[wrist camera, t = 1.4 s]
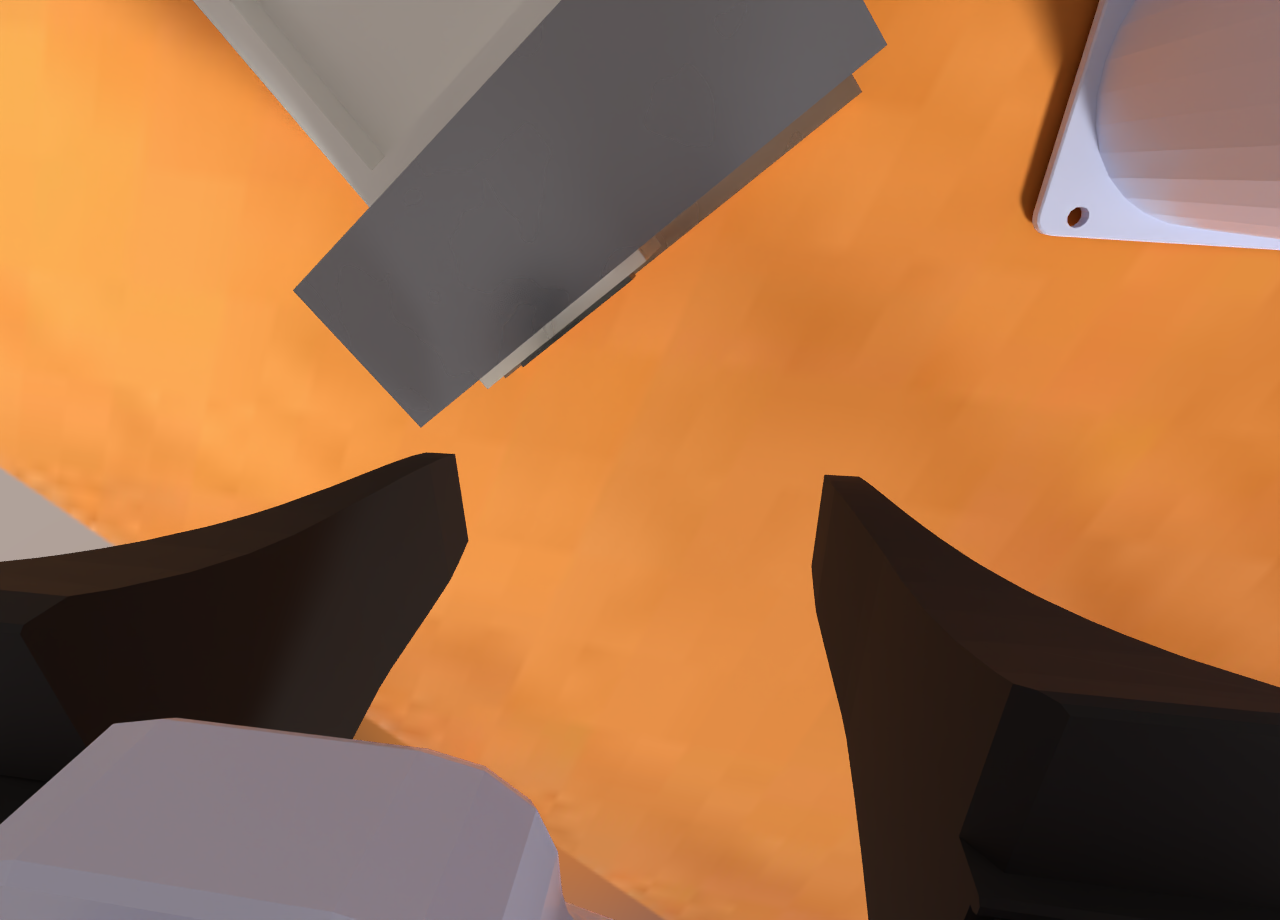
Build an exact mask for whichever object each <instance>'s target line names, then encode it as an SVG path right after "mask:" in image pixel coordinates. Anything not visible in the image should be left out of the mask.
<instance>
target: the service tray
mask: <svg viewBox="0 0 1280 920" xmlns="http://www.w3.org/2000/svg"><path fill="white" fill-rule="evenodd" d="M193 1H194V2H195V3H196V5H197V6H198V7H199V8H200V9H201V10H202V12H203V13H204V14H205V15H206V16H207V18H208V19H209V20H210V21H211V22H212V23H213V25H214V26H215V27H216V28H217V29H218V30H219V32H220V33H221V34H222V35H223V36H224V37H225V39H226V40H227V41H228V42H229V43H230V44H231V46H232V47H233V48H234V49H235V50H236V51H237V53H238V54H239V55H240V56H241V57H242V59H243V60H244V61H245V62H246V63H247V64H248V66H249V67H250V68H251V69H252V70H253V71H254V73H255V74H256V75H257V76H258V77H259V78H260V80H261V81H262V82H263V83H264V84H265V85H266V87H267V88H268V89H269V90H270V91H271V93H272V94H273V95H274V96H275V97H276V98H277V100H278V101H279V102H280V103H281V104H282V105H283V107H284V108H285V109H286V110H287V111H288V112H289V114H290V115H291V116H292V117H293V118H294V119H295V121H296V122H297V123H298V124H299V125H300V126H301V128H302V129H303V130H304V131H305V132H306V134H307V135H308V136H309V137H310V138H311V139H312V141H313V142H314V143H315V144H316V145H317V146H318V148H319V149H320V150H321V151H322V152H323V153H324V155H325V156H326V157H327V158H328V159H329V160H330V162H331V163H332V164H333V165H334V166H335V168H336V169H337V170H338V171H339V172H340V173H341V175H342V176H343V177H344V178H345V179H346V180H347V182H348V183H349V184H350V185H351V186H352V187H353V189H354V190H355V191H356V192H357V193H358V194H359V196H360V197H361V198H362V199H363V200H364V201H365V203H366V204H367V205H368V206H369V207H371V205H372V204H373V203H374V202H375V201H376V200H377V199H378V198H379V197H380V196H381V195H382V194H383V193H384V191H385V190H386V189H387V188H388V187H389V186H390V185H391V184H392V183H393V182H394V181H395V180H396V178H397V177H398V176H399V175H400V174H401V173H402V172H403V171H404V170H405V169H406V168H407V167H408V165H409V164H410V163H411V162H412V161H413V160H414V159H415V158H416V157H417V156H418V155H419V154H420V152H421V151H422V150H423V149H424V148H425V147H426V146H427V145H428V144H429V143H430V142H431V141H432V139H433V138H434V137H435V136H436V135H437V134H438V133H439V132H440V131H441V130H442V129H443V128H444V126H445V125H446V124H447V123H448V122H449V121H450V120H451V119H452V118H453V117H454V116H455V115H456V113H457V112H458V111H459V110H460V109H461V108H462V107H463V106H464V105H465V104H466V103H467V102H468V100H469V99H470V98H471V97H472V96H473V95H474V94H475V93H476V92H477V91H478V90H479V89H480V88H481V86H482V85H483V84H484V83H485V82H486V81H487V80H488V79H489V78H490V77H491V76H492V75H493V73H494V72H495V71H496V70H497V69H498V68H499V67H500V66H501V65H502V64H503V63H504V62H505V60H506V59H507V58H508V57H509V56H510V55H511V54H512V53H513V52H514V51H515V50H516V49H517V47H518V46H519V45H520V44H521V43H522V42H523V41H524V40H525V39H526V38H527V37H528V36H529V34H530V33H531V32H532V31H533V30H534V29H535V28H536V27H537V26H538V25H539V24H540V23H541V21H542V20H543V19H544V18H545V17H546V16H547V15H548V14H549V13H550V12H551V11H552V10H553V8H554V7H555V6H556V5H557V4H558V3H559V2H560V1H561V0H193Z"/></svg>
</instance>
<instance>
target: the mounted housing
mask: <svg viewBox="0 0 1280 920" xmlns="http://www.w3.org/2000/svg"><path fill="white" fill-rule="evenodd" d="M886 45H887V44H886V42H885V40H884V38H883V36H882V34H881V33H880V31H879V29H878V27H877V25H876V23H875V22H874V20H873V18H872V16H871V14H870V12H869V11H868V9H867V7H866V5H865V3H864V1H863V0H561V1H560V2H559V3H558V4H557V5H556V6H555V7H554V8H553V10H552V11H551V12H550V13H549V14H548V15H547V16H546V17H545V18H544V19H543V20H542V21H541V23H540V24H539V25H538V26H537V27H536V28H535V29H534V30H533V31H532V32H531V33H530V34H529V36H528V37H527V38H526V39H525V40H524V41H523V42H522V43H521V44H520V45H519V46H518V47H517V49H516V50H515V51H514V52H513V53H512V54H511V55H510V56H509V57H508V58H507V59H506V60H505V62H504V63H503V64H502V65H501V66H500V67H499V68H498V69H497V70H496V71H495V72H494V73H493V75H492V76H491V77H490V78H489V79H488V80H487V81H486V82H485V83H484V84H483V85H482V86H481V88H480V89H479V90H478V91H477V92H476V93H475V94H474V95H473V96H472V97H471V98H470V99H469V100H468V102H467V103H466V104H465V105H464V106H463V107H462V108H461V109H460V110H459V111H458V112H457V113H456V115H455V116H454V117H453V118H452V119H451V120H450V121H449V122H448V123H447V124H446V125H445V126H444V128H443V129H442V130H441V131H440V132H439V133H438V134H437V135H436V136H435V137H434V138H433V139H432V141H431V142H430V143H429V144H428V145H427V146H426V147H425V148H424V149H423V150H422V151H421V152H420V154H419V155H418V156H417V157H416V158H415V159H414V160H413V161H412V162H411V163H410V164H409V165H408V167H407V168H406V169H405V170H404V171H403V172H402V173H401V174H400V175H399V176H398V177H397V178H396V180H395V181H394V182H393V183H392V184H391V185H390V186H389V187H388V188H387V189H386V190H385V191H384V193H383V194H382V195H381V196H380V197H379V198H378V199H377V200H376V201H375V202H374V203H373V204H372V205H371V207H370V208H369V209H368V210H367V211H366V212H365V213H364V214H363V215H362V216H361V217H360V218H359V220H358V221H357V222H356V223H355V224H354V225H353V226H352V227H351V228H350V229H349V230H348V231H347V233H346V234H345V235H344V236H343V237H342V238H341V239H340V240H339V241H338V242H337V243H336V244H335V246H334V247H333V248H332V249H331V250H330V251H329V252H328V253H327V254H326V255H325V256H324V257H323V259H322V260H321V261H320V262H319V263H318V264H317V265H316V266H315V267H314V268H313V269H312V270H311V272H310V273H309V274H308V275H307V276H306V277H305V278H304V279H303V280H302V281H301V282H300V283H299V285H298V286H297V287H296V288H295V289H294V290H293V291H294V292H295V293H296V294H297V295H298V296H299V297H300V298H301V300H302V301H303V302H304V303H305V304H306V305H307V306H308V307H309V308H310V309H311V310H312V311H313V312H314V313H315V315H316V316H317V317H318V318H319V319H320V320H321V321H322V322H323V323H324V324H325V325H326V326H327V327H328V328H329V330H330V331H331V332H332V333H333V334H334V335H335V336H336V337H337V338H338V339H339V340H340V341H341V342H342V344H343V345H344V346H345V347H346V348H347V349H348V350H349V351H350V352H351V353H352V354H353V355H354V356H355V357H356V359H357V360H358V361H359V362H360V363H361V364H362V365H363V366H364V367H365V368H366V369H367V370H368V371H369V372H370V374H371V375H372V376H373V377H374V378H375V379H376V380H377V381H378V382H379V383H380V384H381V385H382V386H383V388H384V389H385V390H386V391H387V392H388V393H389V394H390V395H391V396H392V397H393V398H394V399H395V400H396V401H397V403H398V404H399V405H400V406H401V407H402V408H403V409H404V410H405V411H406V412H407V413H408V414H409V415H410V416H411V418H412V419H413V420H414V421H415V422H416V423H417V424H418V425H419V426H420V427H422V426H423V425H425V424H426V423H427V422H428V421H429V420H431V419H432V418H433V417H434V416H436V415H437V414H438V413H439V412H440V411H442V410H443V409H444V408H445V407H446V406H448V405H449V404H450V403H451V402H453V401H454V400H455V399H456V398H457V397H459V396H460V395H461V394H462V393H464V392H465V391H466V390H467V389H468V388H470V387H471V386H472V385H473V384H474V383H476V382H477V381H478V380H480V381H481V382H482V383H483V384H484V386H485V387H486V388H487V389H488V388H490V387H491V386H492V385H493V384H495V383H496V382H497V381H498V380H499V379H501V378H502V377H503V376H504V377H505V378H506V377H508V376H509V375H510V374H511V373H512V372H514V371H515V370H516V369H517V368H519V367H520V366H521V365H522V366H523V367H524V366H525V365H526V364H528V363H529V362H530V361H531V360H533V359H534V358H535V357H536V356H538V355H539V354H540V353H541V352H543V351H544V350H545V349H546V348H548V347H549V346H550V345H551V344H553V343H554V342H555V341H556V340H558V339H559V338H560V337H561V336H563V335H564V334H565V333H566V332H568V331H569V330H570V329H571V328H573V327H574V326H575V325H576V324H578V323H579V322H580V321H581V320H583V319H584V318H585V317H586V316H588V315H589V314H590V313H591V312H593V311H594V310H595V309H596V308H598V307H599V306H600V305H601V304H603V303H604V302H605V301H606V300H608V299H609V298H610V297H611V296H613V295H614V294H615V293H616V292H618V291H619V290H620V289H621V288H623V287H624V286H625V285H626V284H628V283H629V282H630V281H631V280H632V279H633V278H634V277H635V274H636V273H637V272H638V271H639V270H641V269H642V268H643V267H644V266H646V265H647V264H648V263H649V262H651V261H652V260H653V259H654V258H656V257H657V256H658V255H659V254H661V253H662V252H663V251H664V250H666V249H667V248H668V247H669V246H671V245H672V244H673V243H674V242H676V241H677V240H678V239H679V238H681V237H682V236H683V235H684V234H686V233H687V232H688V231H689V230H690V229H692V228H693V227H694V226H695V225H697V224H698V223H699V222H700V221H702V220H703V219H704V218H705V217H707V216H708V215H709V214H710V213H712V212H713V211H714V210H715V209H717V208H718V207H719V206H720V205H722V204H723V203H724V202H725V201H727V200H728V199H729V198H730V197H732V196H733V195H734V194H735V193H737V192H738V191H739V190H740V189H742V188H743V187H744V186H745V185H747V184H748V183H749V182H750V181H751V180H753V179H754V178H755V177H756V176H758V175H759V174H760V173H761V172H763V171H764V170H765V169H766V168H768V167H769V166H770V165H771V164H773V163H774V162H775V161H776V160H778V159H779V158H780V157H781V156H783V155H784V154H785V153H786V152H788V151H789V150H790V149H791V148H793V147H794V146H795V145H796V144H798V143H799V142H800V141H801V140H803V139H804V138H805V137H806V136H808V135H809V134H810V133H811V132H812V131H814V130H815V129H816V128H817V127H819V126H820V125H821V124H822V123H824V122H825V121H826V120H827V119H829V118H830V117H831V116H832V115H834V114H835V113H836V112H837V111H839V110H840V109H841V108H842V107H844V106H845V105H846V104H847V103H849V102H850V101H851V100H852V99H854V98H855V97H856V96H857V95H859V94H860V93H861V92H862V91H861V89H860V88H859V86H858V84H857V82H856V80H855V79H854V77H853V75H852V73H853V72H855V71H856V70H857V69H858V68H859V67H861V66H862V65H863V64H864V63H865V62H867V61H868V60H869V59H870V58H872V57H873V56H874V55H875V54H876V53H878V52H879V51H880V50H881V49H883V48H884V47H885V46H886Z"/></svg>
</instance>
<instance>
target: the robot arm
mask: <svg viewBox="0 0 1280 920" xmlns="http://www.w3.org/2000/svg"><path fill="white" fill-rule="evenodd" d="M1076 207H1079V208H1080V210H1081V211H1082V214H1081V218H1080V220H1079V221H1078V222H1077V223H1076V224H1075V225H1073V226H1069V224H1068V223H1067V217H1068V215H1069V213H1070V212H1071V211H1072V210H1073V209H1075V208H1076ZM1032 223H1033V226H1034V228H1035V229H1036V230H1037V231H1038V232H1039V233H1042V234H1045V235H1050V236H1064V237H1080V238H1096V239H1112V240H1128V241H1144V242H1161V243H1177V244H1193V245H1209V246H1225V247H1241V248H1257V249H1273V250H1280V0H1100V1H1099V4H1098V7H1097V11H1096V14H1095V17H1094V20H1093V23H1092V27H1091V30H1090V33H1089V36H1088V39H1087V43H1086V46H1085V49H1084V52H1083V55H1082V59H1081V62H1080V65H1079V68H1078V71H1077V75H1076V78H1075V81H1074V84H1073V87H1072V91H1071V94H1070V97H1069V100H1068V103H1067V107H1066V110H1065V113H1064V116H1063V119H1062V123H1061V126H1060V129H1059V132H1058V135H1057V139H1056V142H1055V145H1054V148H1053V152H1052V155H1051V158H1050V161H1049V164H1048V168H1047V171H1046V174H1045V177H1044V180H1043V184H1042V187H1041V190H1040V193H1039V196H1038V200H1037V203H1036V206H1035V209H1034V212H1033V218H1032ZM467 543H468V535H467V528H466V522H465V516H464V509H463V503H462V496H461V490H460V483H459V477H458V470H457V464H456V458H455V454H443V453H422V454H418V455H414V456H411V457H408V458H405V459H402V460H399V461H396V462H393V463H391V464H388V465H385V466H383V467H380V468H378V469H375V470H372V471H370V472H367V473H365V474H362V475H360V476H357V477H355V478H352V479H350V480H347V481H345V482H342V483H340V484H337V485H334V486H332V487H329V488H326V489H324V490H321V491H318V492H315V493H313V494H310V495H307V496H304V497H302V498H299V499H296V500H293V501H291V502H288V503H285V504H282V505H279V506H276V507H273V508H270V509H267V510H264V511H261V512H258V513H254V514H251V515H248V516H244V517H241V518H237V519H234V520H230V521H227V522H223V523H219V524H216V525H212V526H208V527H204V528H199V529H195V530H190V531H186V532H181V533H177V534H172V535H168V536H163V537H159V538H155V539H150V540H146V541H141V542H135V543H130V544H124V545H119V546H113V547H107V548H102V549H95V550H89V551H83V552H76V553H69V554H63V555H55V556H48V557H41V558H32V559H23V560H13V561H4V562H0V920H614V919H612V918H609V917H606V916H603V915H601V914H598V913H595V912H592V911H589V910H587V909H584V908H581V907H579V906H576V905H573V904H570V903H567V902H565V901H564V898H563V895H562V886H561V878H560V868H559V859H558V851H557V849H556V847H555V845H554V843H553V841H552V839H551V837H550V835H549V833H548V831H547V829H546V827H545V825H544V823H543V821H542V819H541V817H540V815H539V813H538V811H537V809H536V808H535V806H534V805H533V803H532V802H531V800H530V799H528V798H527V797H526V796H524V795H523V794H522V793H520V792H519V791H518V790H516V789H515V788H514V787H512V786H511V785H510V784H508V783H507V782H506V781H504V780H503V779H502V778H500V777H499V776H498V775H496V774H495V773H494V772H492V771H491V770H490V769H488V768H487V767H485V766H482V765H479V764H476V763H473V762H469V761H466V760H463V759H460V758H456V757H453V756H450V755H447V754H443V753H440V752H437V751H433V750H430V749H426V748H418V747H409V746H401V745H393V744H385V743H377V742H369V741H361V740H353V737H354V735H355V733H356V731H357V729H358V728H359V725H360V724H361V722H362V720H363V718H364V716H365V714H366V712H367V710H368V709H369V707H370V705H371V703H372V701H373V699H374V697H375V695H376V693H377V691H378V690H379V688H380V686H381V684H382V683H383V681H384V680H385V678H386V676H387V675H388V673H389V671H390V670H391V668H392V667H393V665H394V664H395V662H396V661H397V659H398V658H399V656H400V655H401V653H402V652H403V650H404V649H405V647H406V646H407V644H408V643H409V641H410V640H411V638H412V637H413V635H414V634H415V632H416V631H417V630H418V628H419V627H420V625H421V624H422V622H423V621H424V619H425V618H426V616H427V615H428V613H429V612H430V610H431V609H432V607H433V606H434V604H435V603H436V601H437V600H438V598H439V597H440V595H441V594H442V592H443V591H444V589H445V587H446V586H447V584H448V583H449V581H450V579H451V577H452V575H453V573H454V571H455V569H456V567H457V565H458V563H459V561H460V559H461V556H462V554H463V552H464V549H465V547H466V545H467ZM812 577H813V588H814V597H815V606H816V613H817V617H818V622H819V626H820V630H821V634H822V638H823V642H824V646H825V650H826V654H827V658H828V662H829V666H830V670H831V674H832V678H833V682H834V686H835V690H836V694H837V698H838V702H839V706H840V710H841V714H842V719H843V724H844V729H845V734H846V739H847V746H848V753H849V760H850V767H851V775H852V782H853V789H854V797H855V805H856V813H857V821H858V830H859V838H860V846H861V854H862V863H863V873H864V882H865V891H866V901H867V910H868V920H1280V687H1277V686H1273V685H1270V684H1267V683H1264V682H1261V681H1258V680H1254V679H1251V678H1248V677H1245V676H1242V675H1239V674H1235V673H1232V672H1229V671H1226V670H1223V669H1220V668H1216V667H1213V666H1210V665H1207V664H1204V663H1201V662H1197V661H1194V660H1191V659H1188V658H1185V657H1183V656H1180V655H1177V654H1174V653H1171V652H1169V651H1166V650H1163V649H1161V648H1158V647H1156V646H1153V645H1150V644H1148V643H1145V642H1142V641H1140V640H1137V639H1134V638H1132V637H1129V636H1126V635H1124V634H1121V633H1119V632H1116V631H1114V630H1112V629H1109V628H1107V627H1104V626H1102V625H1099V624H1097V623H1095V622H1092V621H1090V620H1088V619H1085V618H1083V617H1081V616H1079V615H1077V614H1075V613H1072V612H1070V611H1068V610H1066V609H1064V608H1061V607H1059V606H1057V605H1055V604H1053V603H1051V602H1048V601H1046V600H1044V599H1042V598H1040V597H1038V596H1036V595H1034V594H1032V593H1030V592H1028V591H1026V590H1024V589H1022V588H1021V587H1019V586H1017V585H1015V584H1013V583H1012V582H1010V581H1008V580H1006V579H1004V578H1003V577H1001V576H999V575H997V574H995V573H994V572H992V571H990V570H988V569H987V568H985V567H983V566H982V565H980V564H978V563H977V562H975V561H973V560H972V559H970V558H969V557H967V556H965V555H964V554H962V553H961V552H959V551H958V550H957V549H955V548H954V547H952V546H951V545H949V544H948V543H946V542H945V541H943V540H942V539H940V538H939V537H937V536H936V535H935V534H933V533H932V532H930V531H929V530H928V529H926V528H925V527H924V526H922V525H921V524H920V523H918V522H917V521H916V520H914V519H913V518H912V517H910V516H909V515H908V514H907V513H905V512H904V511H903V510H901V509H900V508H899V507H898V506H896V505H895V504H894V503H893V502H891V501H890V500H889V499H888V498H886V497H885V496H884V495H883V494H881V493H880V492H879V491H878V490H876V489H875V488H874V487H873V486H871V485H870V484H869V483H867V482H866V481H865V480H863V479H862V478H860V477H854V476H836V475H824V482H823V489H822V496H821V503H820V510H819V517H818V524H817V531H816V538H815V545H814V552H813V559H812Z"/></svg>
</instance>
